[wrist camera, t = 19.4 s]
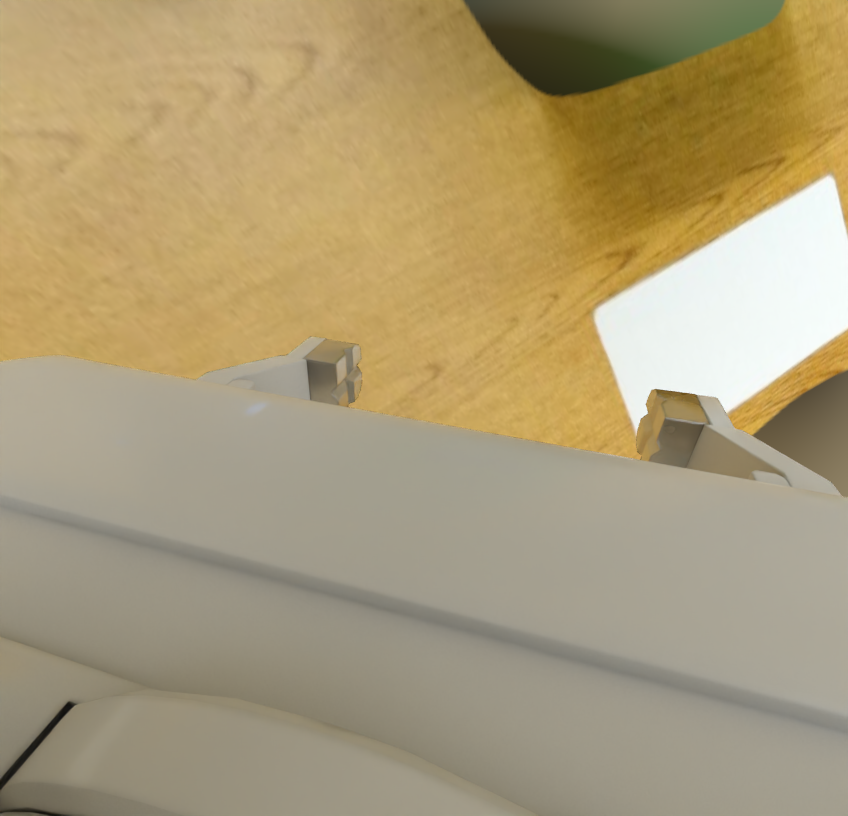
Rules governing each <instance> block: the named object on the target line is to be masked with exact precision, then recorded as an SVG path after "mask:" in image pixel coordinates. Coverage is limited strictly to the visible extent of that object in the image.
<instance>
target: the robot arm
mask: <svg viewBox="0 0 848 816" xmlns="http://www.w3.org/2000/svg"><path fill="white" fill-rule="evenodd" d="M360 360H361V348H360V346H359V344H353V343H347V342H341V341H335V340H329V339H326V338H318V337H309V338H308V339H306V340H305V341H304V342H303V343H301V344H300V345H299V346H297V347H296V348H295V349H294V350H292V351H291V352H290V353H289V354H287V355H286V356H281V355H280V356H276V357H271V358H267V359H263V360H258V361H254V362H250V363H245V364H241V365H237V366H232V367H228V368H224V369H219V370H215V371H211V372H207V373H206V374H204V375H203V376H201V377H200V378H198V379H197V380H195V379H189V378H184V377H178V376H173V375H167V374H161V373H156V372H150V371H145V370H139V369H134V368H128V367H123V366H117V365H112V364H106V363H101V362H95V361H90V360H85V359H81V358H76V357H70V356H63V355H51V356H38V357H29V358H20V359H13V360H6V361H0V816H848V497H842V496H841V495H840V493H839V492H838V491H837V489H836V488H835V487H834V485H833V484H832V482H830V481H828V480H826V479H825V478H823V477H821V476H820V475H818V474H816V473H814V472H813V471H811V470H809V469H807V468H806V467H804V466H802V465H801V464H799V463H797V462H796V461H794V460H792V459H790V458H789V457H787V456H785V455H784V454H782V453H780V452H778V451H777V450H775V449H773V448H772V447H770V446H768V445H766V444H765V443H763V442H761V441H760V440H758V439H756V438H754V437H753V436H751V435H749V434H748V433H746V432H744V431H742V430H738V429H735V428H734V426H733V424H732V423H731V421H730V419H729V417H728V416H727V414H726V412H725V410H724V409H723V407H722V405H721V403H720V401H719V400H718V398H715V397H709V396H701V395H696V394H689V393H682V392H674V391H666V390H659V389H654V390H652V391H651V393H650V395H649V397H648V400H647V403H646V406H647V410H648V414H647V415H645V416H644V417H643V418H641V420H640V424H639V427H638V431H637V437H636V448H637V452H638V453H639V454H640V455H641V459H640V460H638V459H632V458H627V457H621V456H616V455H610V454H604V453H599V452H593V451H588V450H582V449H577V448H571V447H566V446H560V445H555V444H549V443H544V442H538V441H532V440H527V439H521V438H516V437H510V436H505V435H499V434H494V433H488V432H483V431H477V430H471V429H466V428H460V427H455V426H449V425H444V424H438V423H433V422H427V421H422V420H416V419H411V418H405V417H399V416H394V415H388V414H383V413H377V412H372V411H366V410H361V409H355V408H350V407H348V404H350V403H352V402H355V400H356V399H357V398H358V396H359V393H360V390H361V384H362V372H361V371H360V369H359V368H358V366H357V364H358V363H359V362H360Z"/></svg>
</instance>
